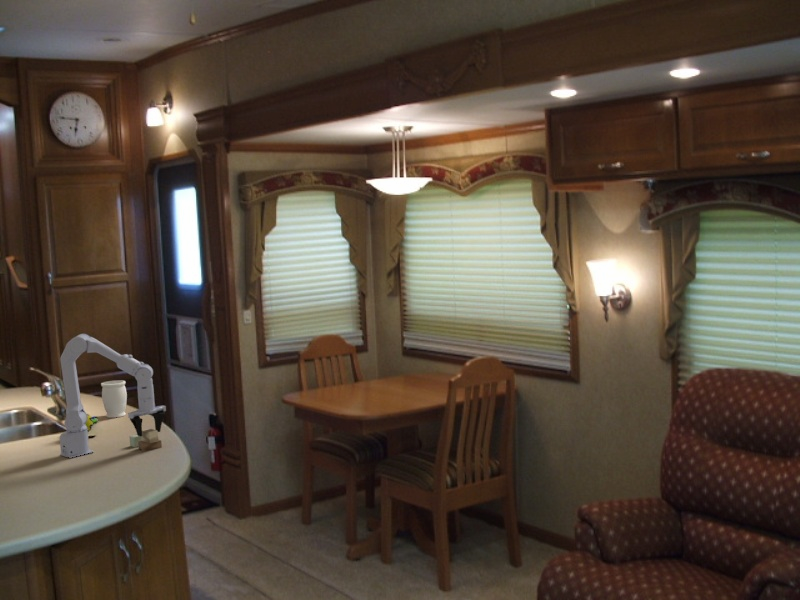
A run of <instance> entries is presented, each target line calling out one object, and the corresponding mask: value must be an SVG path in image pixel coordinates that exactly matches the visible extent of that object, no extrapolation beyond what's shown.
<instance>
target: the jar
mask: <svg viewBox="0 0 800 600" xmlns="http://www.w3.org/2000/svg"><path fill="white" fill-rule="evenodd" d="M126 383H127V382H126V380H123V379H121V380H120V379H119V380H109V381H108V380H107V381H103V382H101V383H100V386H101V387H102V389H101V400H102V403H103V407H104V410H105V412H106V415H105V417H106V418H110V419H115V418H116V417H117V418H121V417H124V416H126V415H127V413H126V408H127V400H128V399H127V398H128V394H127V393H128V392H127V388H126V386H125V385H126ZM117 418H116V419H117Z"/></svg>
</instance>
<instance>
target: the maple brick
mask: <svg viewBox="0 0 800 600" xmlns="http://www.w3.org/2000/svg"><path fill="white" fill-rule="evenodd" d="M141 439H142V441H144V442H147V443H153V442H157V441H158V439H159V432H158V431H157V430H156V429H152V428H145V429H142V436H141Z"/></svg>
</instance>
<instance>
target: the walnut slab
mask: <svg viewBox="0 0 800 600" xmlns="http://www.w3.org/2000/svg"><path fill="white" fill-rule="evenodd" d="M138 445H139V447H138V450H140V449H141V451H142V450H143V451H142V452H146V451H150V450H151V451H152V450H156V449H160V448H162V447H163V446H162V445H163V444H162V439H160V438H158V441H157V442H153V443H147V442H144V441H139V442H138ZM145 450H146V451H145Z"/></svg>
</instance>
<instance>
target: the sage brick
mask: <svg viewBox="0 0 800 600" xmlns="http://www.w3.org/2000/svg"><path fill="white" fill-rule="evenodd" d="M139 441H142V439H141V436H138V435H137V433H136V434H133V435H129V446H130V447H131V446H132V447H133V448H139V445H138V442H139Z"/></svg>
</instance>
